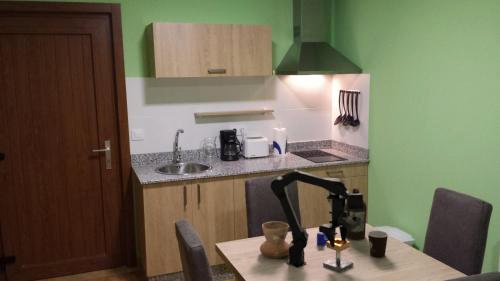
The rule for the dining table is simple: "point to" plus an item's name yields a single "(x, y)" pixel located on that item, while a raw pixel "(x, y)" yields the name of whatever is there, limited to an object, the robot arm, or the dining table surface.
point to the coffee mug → (377, 243)
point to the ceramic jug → (275, 239)
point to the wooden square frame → (339, 245)
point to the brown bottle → (360, 229)
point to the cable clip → (321, 239)
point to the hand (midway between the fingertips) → (338, 244)
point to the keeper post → (338, 263)
